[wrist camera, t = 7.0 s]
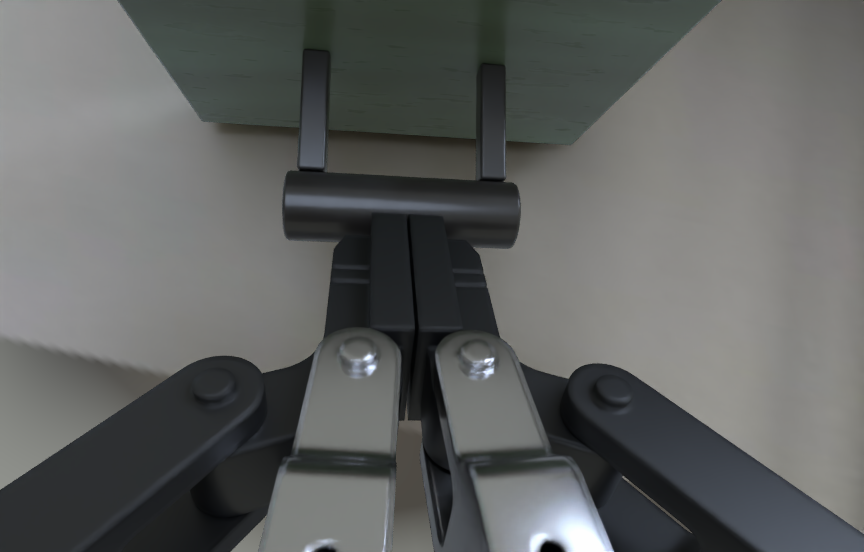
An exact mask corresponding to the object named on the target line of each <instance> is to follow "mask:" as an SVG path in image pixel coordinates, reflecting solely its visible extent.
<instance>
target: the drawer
mask: <svg viewBox="0 0 864 552" xmlns="http://www.w3.org/2000/svg"><path fill="white" fill-rule="evenodd" d="M117 1H118V2H119V3H120V5H121V6H122V8H123V9H124V11H125V12H126V13H127V15H128V16H129V18H130V19H131V21H132V22H133V23H134V25H135V26H136V28H137V29H138V30H139V32H140V33H141V35H142V36H143V38H144V39H145V40H146V42H147V43H148V45H149V46H150V48H151V49H152V50H153V52H154V53H155V55H156V56H157V58H158V59H159V60H160V62H161V63H162V65H163V66H164V68H165V69H166V70H167V72H168V73H169V75H170V76H171V78H172V79H173V80H174V82H175V83H176V85H177V86H178V88H179V89H180V90H181V92H182V93H183V95H184V96H185V97H186V99H187V100H188V102H189V103H190V105H191V106H192V107H193V109H194V110H195V112H196V113H197V115H198V116H199V117H200V119H201V120H202V121H204V122H219V123H234V124H250V125H265V126H281V127H297V128H299V137H298V157H297V167H298V170H299V171H292V170H291V171H288V172H287V174H286V176H285V180H284V187H283V200H282V216H283V229H284V234H285V237H286V239H288V240H294V241H320V242H340V241H341V240H342V239H343V237H344V236H345V235H361V236H371V218H372V212H374V213H394V214H406V218H407V219H408V214H416V215H436V216H443V219H444V224H445V230H446V236H447V239H453V240H466V241H467V242H468V243H469V244H470V245H471V246H472V247H475V248H500V249H509V248H511V247H512V246H513V245H514V243H515V241H516V238H517V235H518V231H519V225H520V216H521V203H520V195H519V191H518V187H517V186H516V184H514V183H512V182H504V180H505V179H506V141H516V142H531V143H547V144H563V145H571V144H573V143H574V142H575V141H576V140H577V139H578V138H579V137H580V136H581V135H582V134H583V133H584V132H585V131H586V130H587V129H588V128H589V127H590V126H591V125H593V124H594V123H595V122H596V121H597V120H598V119H599V118H600V117H601V116H602V115H603V114H604V113H605V112H606V111H607V110H608V109H609V108H610V107H611V106H612V105H613V104H614V103H615V102H616V101H618V100H619V99H620V98H621V97H622V96H623V95H624V94H625V93H626V92H627V91H628V90H629V89H630V88H631V87H632V86H633V85H634V84H635V83H636V82H637V81H638V80H639V79H640V78H641V77H642V76H644V75H645V74H646V73H647V72H648V71H649V70H650V69H651V68H652V67H653V66H654V65H655V64H656V63H657V62H658V61H659V60H660V59H661V58H662V57H663V56H664V55H665V54H666V53H667V52H669V51H670V50H671V49H672V48H673V47H674V46H675V45H676V44H677V43H678V42H679V41H680V40H681V39H682V38H683V37H684V36H685V35H686V34H687V33H688V32H689V31H690V30H691V29H692V28H694V27H695V26H696V25H697V24H698V23H699V22H700V21H701V20H702V19H703V18H704V17H705V16H706V15H707V14H708V13H709V12H710V11H711V10H712V9H713V8H714V7H715V6H716V5H717V4H718V3H720V2H721V1H722V0H117ZM329 130H344V131H359V132H375V133H391V134H406V135H422V136H438V137H453V138H469V139H476V180H457V179H439V178H421V177H402V176H384V175H365V174H347V173H328V172H327V156H328V132H329Z"/></svg>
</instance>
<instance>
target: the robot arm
mask: <svg viewBox="0 0 864 552" xmlns="http://www.w3.org/2000/svg"><path fill="white" fill-rule="evenodd" d="M486 286H487V284H486V280H485V276H484V274H483V268H482V264H481V260H480V256H479V254H478V253H477V252H476V251H475V249H474V248H473V247H472V246H471V245H470V244H469V243H468V242H467V241H466V240H453V239H447V236H446V230H445V224H444V219H443V216H436V215H416V214H408V219H407V218H406V214H394V213H374V212H372V218H371V236H361V235H345V236H344V237H343V239H342V240H341V241H340V242H339V243H338V245H337V246H336V247H335V248H334V252H333V261H332V270H331V280H330V288H329V297H328V306H327V315H326V324H325V333H324V338H323V340H322V341H321V342H320V343H319V345H318V347H317V348H316V351H315V352H314V353H313V354H312V355H311V356H309V357H308V358H307V359H305V360H303V361H302V362H300V363H298V364H295V365H293V366H290V367H287V368H283V369H279V370H275V371H270V372H266V373H261V372H260V370H259V369H258V368H257V367H256V366H255V365H254V364H253V363H251V362H249V361H247V360H245V359H242V358H239V357H234V356H214V357H209V358H205V359H202V360H198V361H196V362H194V363H191V364H190V365H188V366H186V367H184V368H183V369H181V370H180V371H178V372H177V373H175V374H174V375H172V376H171V377H169V378H168V379H166V380H165V381H163V382H162V383H160V384H159V385H157V386H156V387H154V388H153V389H151V390H150V391H148V392H147V393H145V394H144V395H142V396H141V397H139V398H138V399H136V400H135V401H133V402H132V403H130V404H129V405H127V406H126V407H124V408H123V409H121V410H120V411H118V412H117V413H115V414H114V415H112V416H111V417H109V418H108V419H106V420H105V421H103V422H102V423H100V424H99V425H97V426H96V427H94V428H93V429H91V430H90V431H88V432H87V433H85V434H84V435H82V436H81V437H79V438H78V439H76V440H75V441H73V442H72V443H70V444H69V445H67V446H66V447H64V448H63V449H61V450H60V451H58V452H57V453H55V454H54V455H52V456H51V457H49V458H48V459H46V460H45V461H43V462H42V463H40V464H39V465H37V466H36V467H34V468H33V469H31V470H30V471H28V472H27V473H25V474H24V475H22V476H21V477H19V478H18V479H16V480H14V481H13V482H12V483H10V484H8V485H7V486H6V487H4V488H2V489H1V490H0V552H230V551H231V550H232V549H233V548H234V547H235V546H236V545H237V544H238V543H239V542H240V541H241V540H242V539H243V538H244V537H245V536H246V535H247V534H248V533H249V532H250V531H251V530H252V529H253V528H254V527H255V526H256V525H257V524H258V523H259V522H260V521H261V520H262V519H263V518H264V517H265V516H266V515H267V517H266V521H265V525H264V530H263V533H262V538H261V541H260V545H259V549H258V552H392V542H393V523H394V522H393V521H394V505H395V487H396V443H397V434H398V425H399V421H404V419H405V410H406V402H407V414H408V420H421V424H422V437H423V438H422V444H421V451H420V463H421V469H422V476H423V482H424V489H425V495H426V502H427V508H428V515H429V521H430V528H431V534H432V541H433V547H434V552H864V534H863V533H861V532H860V531H858V530H857V529H855V528H854V527H853V526H851V525H850V524H848V523H847V522H845V521H844V520H842V519H841V518H840V517H838V516H837V515H835V514H834V513H832V512H831V511H829V510H828V509H827V508H825V507H824V506H822V505H821V504H819V503H818V502H816V501H815V500H813V499H812V498H811V497H809V496H808V495H806V494H805V493H803V492H802V491H800V490H799V489H798V488H796V487H795V486H793V485H792V484H790V483H789V482H787V481H786V480H785V479H783V478H782V477H780V476H779V475H777V474H776V473H774V472H773V471H771V470H770V469H769V468H767V467H766V466H764V465H763V464H761V463H760V462H758V461H757V460H756V459H754V458H753V457H751V456H750V455H748V454H747V453H745V452H744V451H743V450H741V449H740V448H738V447H737V446H735V445H734V444H732V443H731V442H729V441H728V440H727V439H725V438H724V437H722V436H721V435H719V434H718V433H716V432H715V431H714V430H712V429H711V428H709V427H708V426H706V425H705V424H703V423H702V422H701V421H699V420H698V419H696V418H695V417H693V416H692V415H690V414H689V413H687V412H686V411H685V410H683V409H682V408H680V407H679V406H677V405H676V404H674V403H673V402H672V401H670V400H669V399H667V398H666V397H664V396H663V395H661V394H660V393H659V392H657V391H656V390H654V389H653V388H651V387H650V386H648V385H647V384H645V383H644V382H643V381H641V380H640V379H638V378H637V377H635V376H634V375H632V374H631V373H629V372H627V371H625V370H623V369H621V368H618V367H615V366H612V365H607V364H599V363H598V364H588V365H584V366H581V367H579V368H578V369H576V370H575V371H574V372H573V373H572V375H571V376H570V378H569V379H566V378H562V377H559V376H555V375H551V374H548V373H544V372H541V371H537V370H534V369H532V368H530V367H528V366H526V365H524V364H522V363H521V362H519V361H518V358H517V356H516V354H515V352H514V350H513V349H512V348H511V347H510V346H509V345H508V344H507V343H506V342H505V341H504V340H502V339H501V338H500V336H499V332H498V328H497V324H496V320H495V316H494V312H493V308H492V304H491V300H490V296H489V292H488V288H487V287H486ZM622 476H625V477H626V478H627V479H628V480H629V481H631V482H632V483H633V484H634V485H636V486H637V487H638V488H639V489H641V490H642V491H643V492H644V493H645V494H647V495H648V496H649V497H650V498H652V499H653V500H654V501H655V502H657V503H658V504H659V505H660V506H661V507H663V508H664V509H665V510H666V511H668V512H669V513H670V514H671V515H673V516H674V517H675V518H676V519H677V520H679V521H680V522H681V523H682V524H684V525H685V526H686V527H687V528H688V529H689V530H690V531H691V532H692V533H693V534H692V533H690V532H688V531H687V530H685V529H684V528H683V527H682V526H680V525H679V524H678V523H677V522H676V521H674V520H673V519H672V518H671V517H669V516H668V515H667V514H666V513H665V512H663V511H662V510H661V509H660V508H658V507H657V506H656V505H655V504H654V503H652V502H651V501H650V500H649V499H647V498H646V497H645V496H644V495H643V494H641V493H640V492H639V491H638V490H636V489H635V488H634V487H632V486H631V485H630V484H629V483H628V482H627V481H625V480H624V479H623V478H622Z"/></svg>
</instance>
